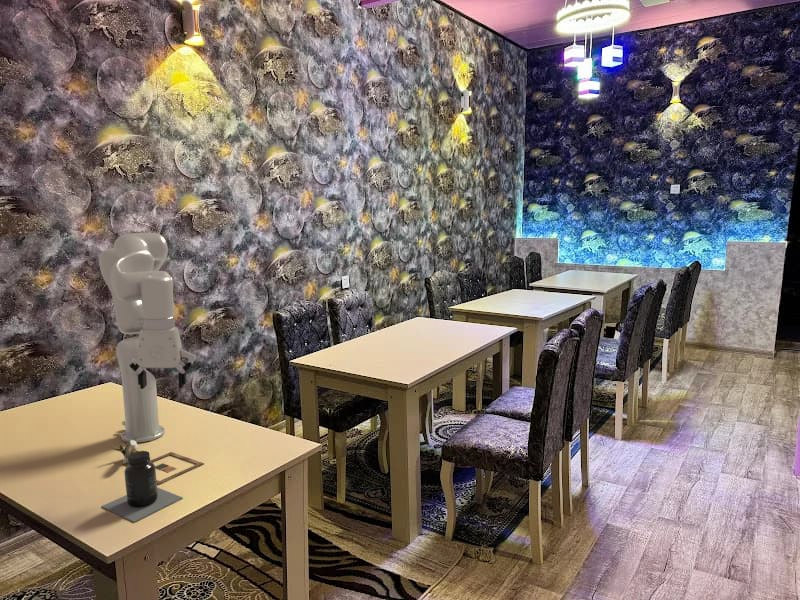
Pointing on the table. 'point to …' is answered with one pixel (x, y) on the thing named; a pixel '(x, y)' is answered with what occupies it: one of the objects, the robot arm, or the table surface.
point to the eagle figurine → (127, 449)
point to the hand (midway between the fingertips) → (162, 386)
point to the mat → (139, 513)
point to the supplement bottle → (140, 480)
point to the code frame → (170, 468)
